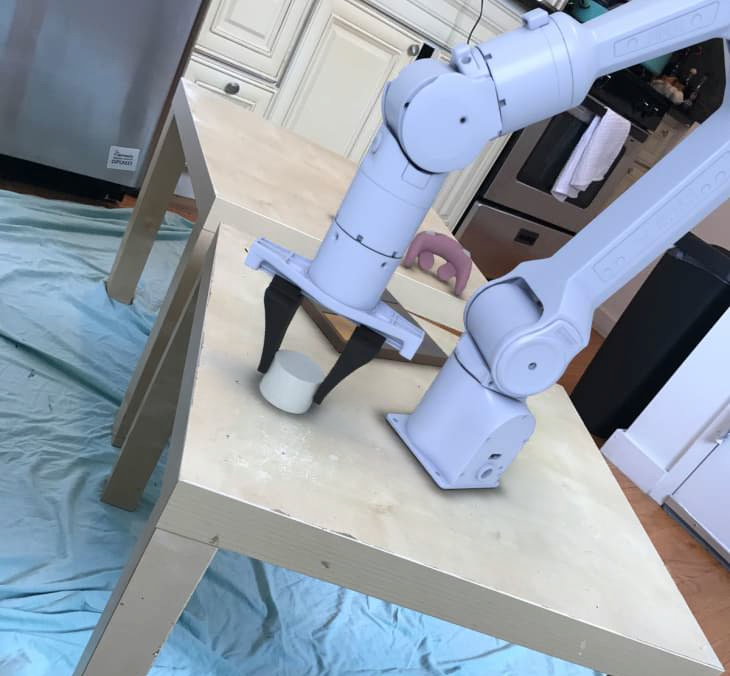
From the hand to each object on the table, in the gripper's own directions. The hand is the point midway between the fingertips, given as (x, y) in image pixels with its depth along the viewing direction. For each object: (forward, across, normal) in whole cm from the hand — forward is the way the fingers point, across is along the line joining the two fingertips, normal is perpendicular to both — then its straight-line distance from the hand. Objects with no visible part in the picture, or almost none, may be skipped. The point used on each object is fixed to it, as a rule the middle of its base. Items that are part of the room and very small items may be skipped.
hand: (291, 383), depth 61 cm
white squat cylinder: (+1, 0, 0) cm, 1 cm away
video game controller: (+2, -8, -54) cm, 54 cm away
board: (+1, -2, -25) cm, 25 cm away
